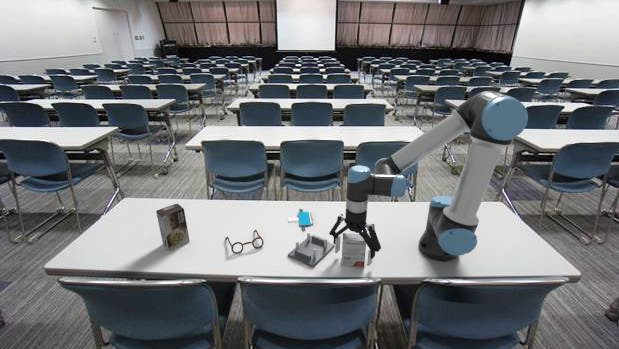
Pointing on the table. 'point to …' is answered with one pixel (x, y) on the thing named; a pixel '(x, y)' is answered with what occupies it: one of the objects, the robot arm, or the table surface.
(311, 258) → the cradle
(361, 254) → the ink box
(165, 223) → the coffee box
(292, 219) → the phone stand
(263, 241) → the glasses
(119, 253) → the table surface
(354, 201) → the robot arm
